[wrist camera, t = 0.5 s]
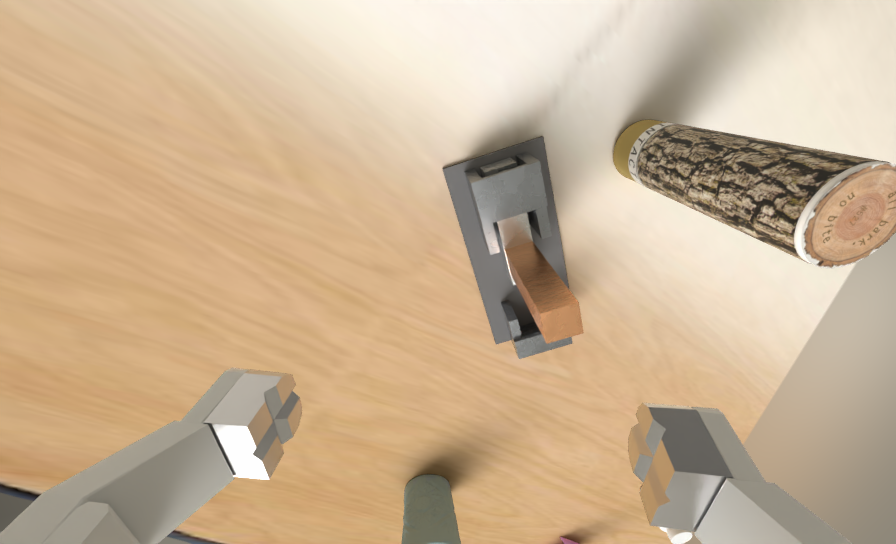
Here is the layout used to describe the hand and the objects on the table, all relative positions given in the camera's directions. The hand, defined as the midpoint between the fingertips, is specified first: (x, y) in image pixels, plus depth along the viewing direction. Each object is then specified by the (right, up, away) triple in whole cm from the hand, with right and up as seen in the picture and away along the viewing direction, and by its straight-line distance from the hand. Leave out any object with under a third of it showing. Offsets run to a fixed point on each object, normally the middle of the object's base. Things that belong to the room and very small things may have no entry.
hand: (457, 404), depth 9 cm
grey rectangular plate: (+9, +6, +41) cm, 42 cm away
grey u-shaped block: (+6, +12, +37) cm, 40 cm away
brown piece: (+7, +10, +38) cm, 40 cm away
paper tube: (+22, +18, +37) cm, 46 cm away
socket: (+11, -2, +46) cm, 47 cm away
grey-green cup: (-4, -38, +63) cm, 73 cm away
